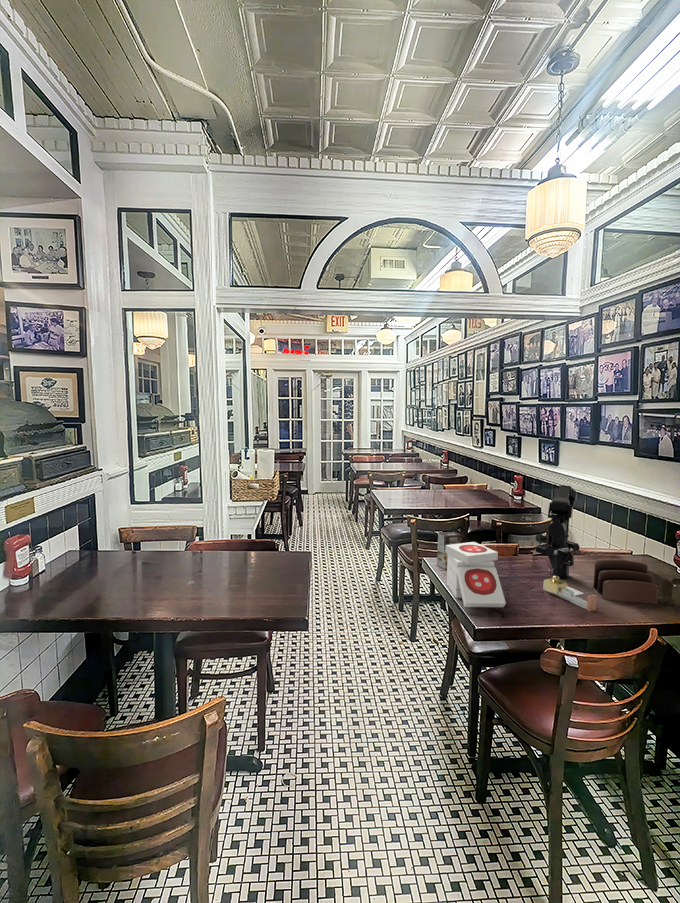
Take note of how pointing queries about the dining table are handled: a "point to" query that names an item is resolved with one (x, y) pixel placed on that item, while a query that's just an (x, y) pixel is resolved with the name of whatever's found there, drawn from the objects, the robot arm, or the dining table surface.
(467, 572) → the pizza boxes
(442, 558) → the coffee box
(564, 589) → the flange rail
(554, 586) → the clip saddle
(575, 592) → the pad
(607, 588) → the letter holder
